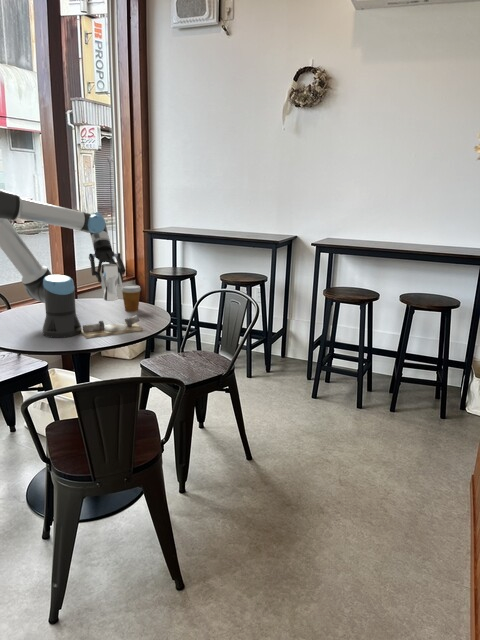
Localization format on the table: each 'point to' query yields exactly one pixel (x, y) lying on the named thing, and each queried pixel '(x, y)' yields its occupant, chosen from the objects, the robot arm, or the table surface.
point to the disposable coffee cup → (131, 297)
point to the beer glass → (110, 281)
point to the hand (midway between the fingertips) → (112, 287)
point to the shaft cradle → (110, 328)
